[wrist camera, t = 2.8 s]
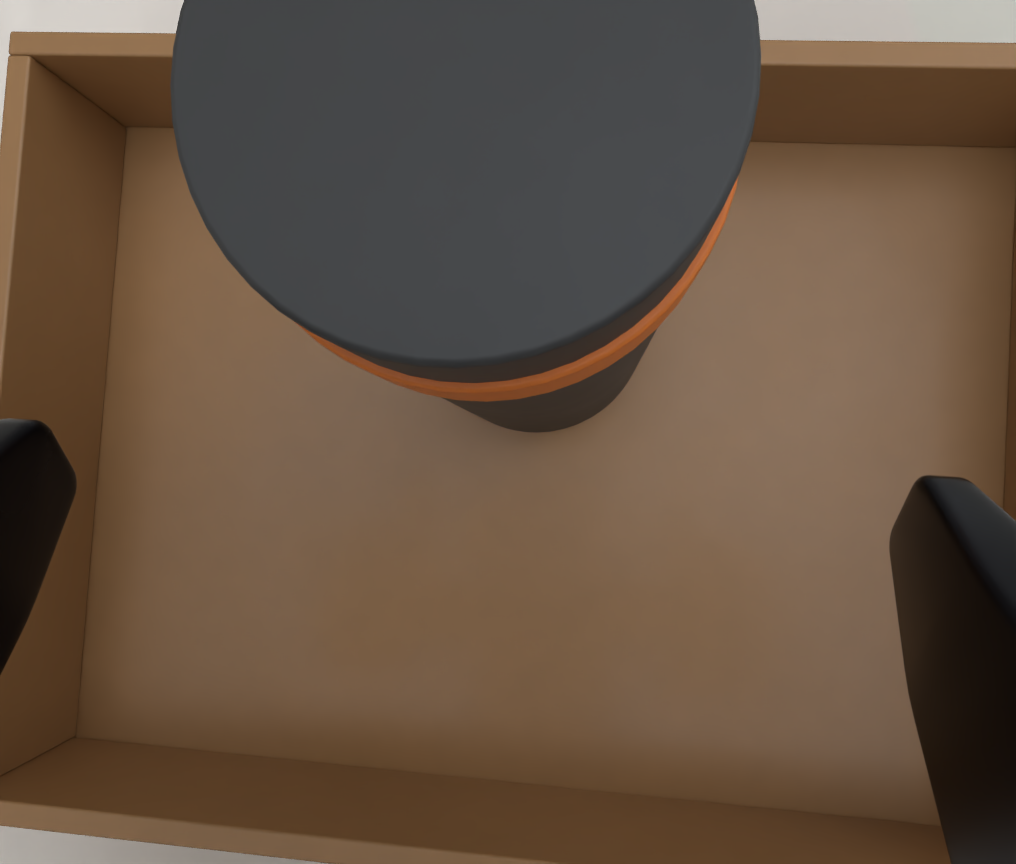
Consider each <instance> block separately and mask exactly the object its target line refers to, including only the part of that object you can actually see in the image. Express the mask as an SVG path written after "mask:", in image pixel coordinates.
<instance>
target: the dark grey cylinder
mask: <svg viewBox="0 0 1016 864" xmlns="http://www.w3.org/2000/svg"><path fill="white" fill-rule="evenodd" d="M760 75H761V46H760V35H759V24H758V15H757V11H756V7H755V2H754V0H184V3H183V6H182V8H181V12H180V17H179V21H178V26H177V31H176V36H175V41H174V46H173V56H172V69H171V82H170V88H171V108H172V123H173V128H174V134H175V139H176V145H177V150H178V156H179V160H180V163H181V166H182V169H183V173H184V176H185V179H186V182H187V185H188V188H189V191H190V194H191V197H192V199H193V201H194V203H195V205H196V207H197V209H198V211H199V213H200V215H201V218H202V220H203V222H204V224H205V226H206V228H207V230H208V231H209V233H210V234H211V236H212V237H213V239H214V240H215V242H216V243H217V245H218V246H219V248H220V250H221V251H222V253H223V254H224V256H225V257H226V259H227V260H228V261H229V262H230V263H231V264H232V266H233V267H234V268H235V269H236V270H237V271H238V273H239V274H240V275H241V276H242V277H243V278H244V279H245V281H246V282H247V283H248V284H249V285H250V286H251V287H252V288H253V289H254V290H255V291H256V292H257V293H259V294H260V295H261V296H262V297H263V298H264V299H265V300H267V301H268V302H269V303H270V304H271V305H272V306H273V307H274V308H276V309H277V310H278V311H279V312H281V313H282V314H284V315H285V316H287V317H288V318H290V319H291V320H293V321H294V322H295V323H296V324H297V325H298V326H300V327H301V328H302V329H303V330H304V331H305V332H306V333H308V334H309V335H310V336H311V337H312V338H313V339H314V340H316V341H317V342H318V343H319V344H321V345H322V346H324V347H325V348H327V349H328V350H330V351H331V352H333V353H334V354H336V355H337V356H339V357H340V358H342V359H343V360H345V361H347V362H349V363H351V364H353V365H355V366H357V367H359V368H361V369H363V370H365V371H367V372H369V373H372V374H374V375H376V376H378V377H380V378H382V379H385V380H387V381H389V382H391V383H394V384H396V385H398V386H402V387H405V388H408V389H411V390H414V391H417V392H420V393H423V394H426V395H432V396H437V397H441V398H443V399H445V400H447V401H449V402H451V403H453V404H455V405H457V406H459V407H461V408H463V409H465V410H467V411H469V412H471V413H473V414H475V415H477V416H479V417H481V418H483V419H485V420H487V421H489V422H491V423H493V424H496V425H498V426H501V427H504V428H507V429H511V430H517V431H522V432H537V433H538V432H551V431H556V430H561V429H565V428H568V427H571V426H574V425H577V424H579V423H581V422H583V421H585V420H587V419H589V418H591V417H593V416H594V415H596V414H597V413H599V412H600V411H602V410H603V409H604V408H605V407H606V406H608V405H609V404H610V403H611V402H612V401H613V400H614V399H615V398H616V397H617V396H618V394H619V393H620V392H621V391H622V390H623V388H624V387H625V385H626V384H627V382H628V381H629V379H630V378H631V376H632V374H633V372H634V371H635V369H636V367H637V365H638V363H639V361H640V360H641V358H642V356H643V354H644V352H645V350H646V349H647V347H648V345H649V343H650V341H651V339H652V337H653V336H654V334H655V332H656V330H657V328H658V327H659V326H660V325H661V324H662V322H663V321H664V320H665V319H666V318H667V317H668V315H669V314H670V313H671V312H672V311H673V310H674V308H675V307H676V306H677V305H678V304H679V302H680V301H681V299H682V298H683V296H684V295H685V293H686V292H687V290H688V289H689V287H690V286H691V284H692V283H693V281H694V280H695V278H696V276H697V275H698V273H699V271H700V270H701V268H702V266H703V265H704V263H705V261H706V260H707V258H708V256H709V255H710V253H711V251H712V249H713V246H714V244H715V242H716V240H717V238H718V236H719V234H720V232H721V230H722V228H723V226H724V224H725V221H726V218H727V215H728V212H729V209H730V206H731V203H732V200H733V197H734V194H735V191H736V187H737V181H738V176H739V174H740V171H741V168H742V165H743V162H744V158H745V155H746V152H747V149H748V146H749V143H750V140H751V137H752V134H753V128H754V123H755V117H756V112H757V107H758V101H759V96H760Z"/></svg>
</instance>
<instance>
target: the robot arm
mask: <svg viewBox="0 0 1016 864" xmlns="http://www.w3.org/2000/svg"><path fill="white" fill-rule="evenodd" d="M76 489H77V478H76V474H75V471H74V469H73V467H72V466H71V464H70V462H69V460H68V458H67V457H66V455H65V453H64V451H63V450H62V448H61V446H60V444H59V443H58V441H57V439H56V437H55V435H54V434H53V432H52V430H51V429H50V428H49V426H48V425H46V424H45V423H43V422H42V421H38V420H30V419H13V418H8V419H2V420H0V675H1V673H2V671H3V669H4V667H5V665H6V663H7V661H8V659H9V657H10V655H11V653H12V651H13V649H14V647H15V645H16V643H17V641H18V639H19V637H20V635H21V633H22V631H23V629H24V627H25V625H26V622H27V620H28V618H29V616H30V613H31V611H32V609H33V606H34V604H35V601H36V599H37V596H38V594H39V591H40V588H41V586H42V583H43V580H44V578H45V575H46V572H47V570H48V567H49V564H50V562H51V559H52V556H53V554H54V551H55V548H56V546H57V543H58V540H59V538H60V535H61V532H62V529H63V527H64V524H65V521H66V519H67V516H68V513H69V511H70V508H71V505H72V503H73V500H74V497H75V494H76ZM889 553H890V561H891V569H892V577H893V584H894V592H895V600H896V608H897V616H898V623H899V631H900V639H901V647H902V654H903V662H904V670H905V676H906V682H907V689H908V694H909V699H910V703H911V708H912V712H913V717H914V721H915V725H916V729H917V732H918V736H919V740H920V744H921V748H922V752H923V756H924V760H925V764H926V768H927V772H928V776H929V780H930V783H931V787H932V791H933V795H934V799H935V803H936V807H937V811H938V815H939V819H940V823H941V827H942V831H943V835H944V838H945V842H946V846H947V850H948V854H949V858H950V862H951V864H1016V520H1014V519H1013V518H1012V517H1011V516H1010V515H1009V514H1008V513H1007V512H1005V511H1004V510H1003V509H1002V508H1001V507H1000V506H999V505H997V504H996V503H995V502H994V501H993V500H992V499H991V498H989V497H988V496H987V495H986V494H985V493H984V492H983V491H981V490H980V489H979V488H978V487H977V486H976V485H975V484H973V483H972V482H971V481H969V480H967V479H965V478H962V477H952V476H936V475H925V476H921V477H919V478H918V479H917V480H916V481H915V482H914V484H913V486H912V487H911V490H910V492H909V494H908V496H907V498H906V500H905V502H904V504H903V506H902V509H901V511H900V513H899V515H898V517H897V519H896V521H895V523H894V525H893V528H892V530H891V534H890V541H889Z"/></svg>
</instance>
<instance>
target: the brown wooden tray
mask: <svg viewBox="0 0 1016 864" xmlns="http://www.w3.org/2000/svg"><path fill="white" fill-rule="evenodd" d="M175 36H176V34H167V33H79V32H11V34H10V44H9V54H10V56H9V57H8V66H7V77H6V89H5V100H4V111H3V122H2V133H1V144H0V420H2V419H8V418H13V419H30V420H38V421H42V422H43V423H45V424H46V425H48V426H49V428H50V429H51V430H52V432H53V434H54V435H55V437H56V439H57V441H58V443H59V444H60V446H61V448H62V450H63V451H64V453H65V455H66V457H67V458H68V460H69V462H70V464H71V466H72V467H73V469H74V471H75V474H76V478H77V489H76V494H75V497H74V500H73V503H72V505H71V508H70V511H69V513H68V516H67V519H66V521H65V524H64V527H63V529H62V532H61V535H60V538H59V540H58V543H57V546H56V548H55V551H54V554H53V556H52V559H51V562H50V564H49V567H48V570H47V572H46V575H45V578H44V580H43V583H42V586H41V588H40V591H39V594H38V596H37V599H36V601H35V604H34V606H33V609H32V611H31V613H30V616H29V618H28V620H27V622H26V625H25V627H24V629H23V631H22V633H21V635H20V637H19V639H18V641H17V643H16V645H15V647H14V649H13V651H12V653H11V655H10V657H9V659H8V661H7V663H6V665H5V667H4V669H3V671H2V673H1V675H0V826H9V827H17V828H26V829H35V830H43V831H52V832H61V833H70V834H78V835H87V836H96V837H105V838H113V839H122V840H131V841H140V842H148V843H157V844H166V845H174V846H183V847H192V848H201V849H209V850H218V851H227V852H236V853H244V854H253V855H262V856H270V857H279V858H288V859H297V860H305V861H314V862H323V863H332V864H951V862H950V858H949V854H948V850H947V846H946V842H945V838H944V835H943V831H942V827H941V823H940V819H939V815H938V811H937V807H936V803H935V799H934V795H933V791H932V787H931V783H930V780H929V776H928V772H927V768H926V764H925V760H924V756H923V752H922V748H921V744H920V740H919V736H918V732H917V729H916V725H915V721H914V717H913V712H912V708H911V703H910V699H909V694H908V689H907V682H906V676H905V670H904V662H903V654H902V647H901V639H900V631H899V623H898V616H897V608H896V600H895V592H894V584H893V577H892V569H891V561H890V553H889V541H890V534H891V530H892V528H893V525H894V523H895V521H896V519H897V517H898V515H899V513H900V511H901V509H902V506H903V504H904V502H905V500H906V498H907V496H908V494H909V492H910V490H911V487H912V486H913V484H914V482H915V481H916V480H917V479H918V478H919V477H921V476H925V475H936V476H952V477H962V478H965V479H967V480H969V481H971V482H972V483H973V484H975V485H976V486H977V487H978V488H979V489H980V490H981V491H983V492H984V493H985V494H986V495H987V496H988V497H989V498H991V499H992V500H993V501H994V502H995V503H996V504H997V505H999V506H1000V507H1001V508H1002V509H1003V510H1004V511H1005V512H1007V513H1008V514H1009V515H1010V516H1011V517H1012V518H1013V519H1014V520H1016V43H961V42H873V41H785V40H760V46H761V75H760V96H759V101H758V107H757V112H756V117H755V123H754V128H753V134H752V137H751V140H750V143H749V146H748V149H747V152H746V155H745V158H744V162H743V165H742V168H741V171H740V174H739V176H738V181H737V187H736V191H735V194H734V197H733V200H732V203H731V206H730V209H729V212H728V215H727V218H726V221H725V224H724V226H723V228H722V230H721V232H720V234H719V236H718V238H717V240H716V242H715V244H714V246H713V249H712V251H711V253H710V255H709V256H708V258H707V260H706V261H705V263H704V265H703V266H702V268H701V270H700V271H699V273H698V275H697V276H696V278H695V280H694V281H693V283H692V284H691V286H690V287H689V289H688V290H687V292H686V293H685V295H684V296H683V298H682V299H681V301H680V302H679V304H678V305H677V306H676V307H675V308H674V310H673V311H672V312H671V313H670V314H669V315H668V317H667V318H666V319H665V320H664V321H663V322H662V324H661V325H660V326H659V327H658V328H657V330H656V332H655V334H654V336H653V337H652V339H651V341H650V343H649V345H648V347H647V349H646V350H645V352H644V354H643V356H642V358H641V360H640V361H639V363H638V365H637V367H636V369H635V371H634V372H633V374H632V376H631V378H630V379H629V381H628V382H627V384H626V385H625V387H624V388H623V390H622V391H621V392H620V393H619V394H618V396H617V397H616V398H615V399H614V400H613V401H612V402H611V403H610V404H609V405H608V406H606V407H605V408H604V409H603V410H602V411H600V412H599V413H597V414H596V415H594V416H593V417H591V418H589V419H587V420H585V421H583V422H581V423H579V424H577V425H574V426H571V427H568V428H565V429H561V430H556V431H551V432H538V433H537V432H522V431H517V430H511V429H507V428H504V427H501V426H498V425H496V424H493V423H491V422H489V421H487V420H485V419H483V418H481V417H479V416H477V415H475V414H473V413H471V412H469V411H467V410H465V409H463V408H461V407H459V406H457V405H455V404H453V403H451V402H449V401H447V400H445V399H443V398H441V397H437V396H432V395H426V394H423V393H420V392H417V391H414V390H411V389H408V388H405V387H402V386H398V385H396V384H394V383H391V382H389V381H387V380H385V379H382V378H380V377H378V376H376V375H374V374H372V373H369V372H367V371H365V370H363V369H361V368H359V367H357V366H355V365H353V364H351V363H349V362H347V361H345V360H343V359H342V358H340V357H339V356H337V355H336V354H334V353H333V352H331V351H330V350H328V349H327V348H325V347H324V346H322V345H321V344H319V343H318V342H317V341H316V340H314V339H313V338H312V337H311V336H310V335H309V334H308V333H306V332H305V331H304V330H303V329H302V328H301V327H300V326H298V325H297V324H296V323H295V322H294V321H293V320H291V319H290V318H288V317H287V316H285V315H284V314H282V313H281V312H279V311H278V310H277V309H276V308H274V307H273V306H272V305H271V304H270V303H269V302H268V301H267V300H265V299H264V298H263V297H262V296H261V295H260V294H259V293H257V292H256V291H255V290H254V289H253V288H252V287H251V286H250V285H249V284H248V283H247V282H246V281H245V279H244V278H243V277H242V276H241V275H240V274H239V273H238V271H237V270H236V269H235V268H234V267H233V266H232V264H231V263H230V262H229V261H228V260H227V259H226V257H225V256H224V254H223V253H222V251H221V250H220V248H219V246H218V245H217V243H216V242H215V240H214V239H213V237H212V236H211V234H210V233H209V231H208V230H207V228H206V226H205V224H204V222H203V220H202V218H201V215H200V213H199V211H198V209H197V207H196V205H195V203H194V201H193V199H192V197H191V194H190V191H189V188H188V185H187V182H186V179H185V176H184V173H183V169H182V166H181V163H180V160H179V156H178V150H177V145H176V139H175V134H174V128H173V123H172V108H171V88H170V82H171V69H172V56H173V46H174V41H175Z"/></svg>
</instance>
